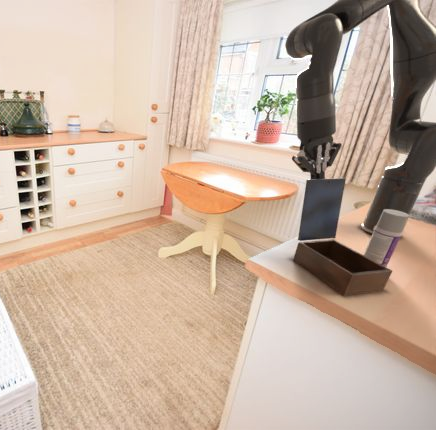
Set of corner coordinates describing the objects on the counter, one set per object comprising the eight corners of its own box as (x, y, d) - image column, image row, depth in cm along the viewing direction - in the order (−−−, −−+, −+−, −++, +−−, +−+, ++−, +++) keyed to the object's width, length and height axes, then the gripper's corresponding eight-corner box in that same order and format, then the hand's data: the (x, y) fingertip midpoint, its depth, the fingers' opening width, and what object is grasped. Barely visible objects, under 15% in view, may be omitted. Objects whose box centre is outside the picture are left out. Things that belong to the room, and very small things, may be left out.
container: (374, 264, 74) (399, 209, 68) (388, 275, 69) (416, 217, 63) (355, 262, 74) (377, 208, 68) (367, 273, 70) (393, 216, 64)
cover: (345, 178, 70) (342, 177, 71) (309, 179, 68) (306, 179, 69) (335, 238, 74) (332, 237, 75) (300, 240, 72) (297, 239, 73)
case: (383, 290, 64) (392, 270, 61) (343, 295, 62) (352, 275, 60) (327, 256, 76) (333, 239, 74) (292, 259, 74) (298, 242, 72)
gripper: (322, 110, 72) (324, 176, 78) (279, 124, 70) (284, 191, 75) (354, 107, 65) (353, 180, 71) (306, 122, 63) (310, 197, 68)
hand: (317, 186), depth 73 cm, fingers closed
